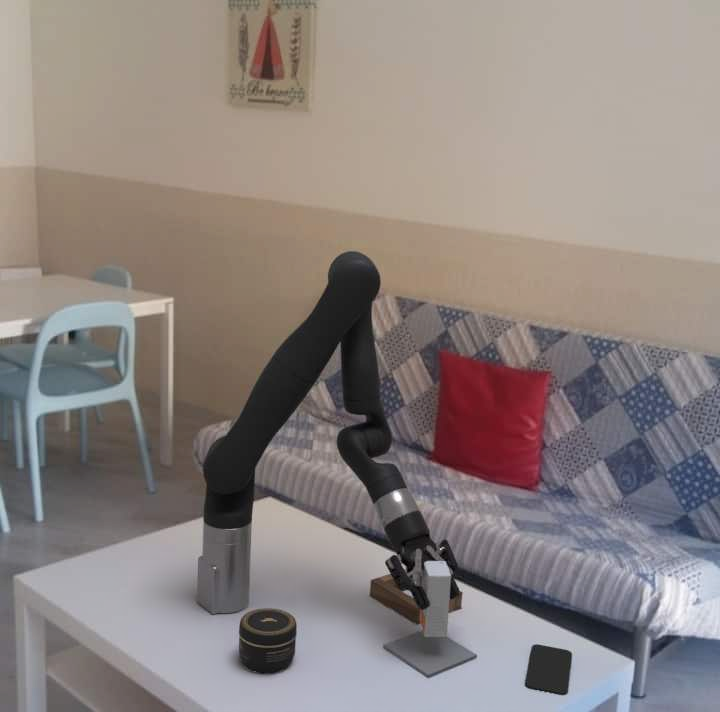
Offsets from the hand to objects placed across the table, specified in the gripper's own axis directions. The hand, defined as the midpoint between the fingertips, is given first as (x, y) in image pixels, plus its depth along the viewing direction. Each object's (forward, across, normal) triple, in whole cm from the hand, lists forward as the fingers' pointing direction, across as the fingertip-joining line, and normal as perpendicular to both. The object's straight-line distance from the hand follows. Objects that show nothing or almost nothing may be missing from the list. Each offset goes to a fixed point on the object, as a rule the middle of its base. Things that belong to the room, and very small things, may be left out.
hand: (441, 602), depth 172 cm
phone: (+18, +14, -2) cm, 23 cm away
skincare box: (+3, 0, +5) cm, 6 cm away
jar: (-4, -26, +18) cm, 32 cm away
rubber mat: (+6, 0, +8) cm, 11 cm away
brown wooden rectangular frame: (-5, +11, +20) cm, 23 cm away
